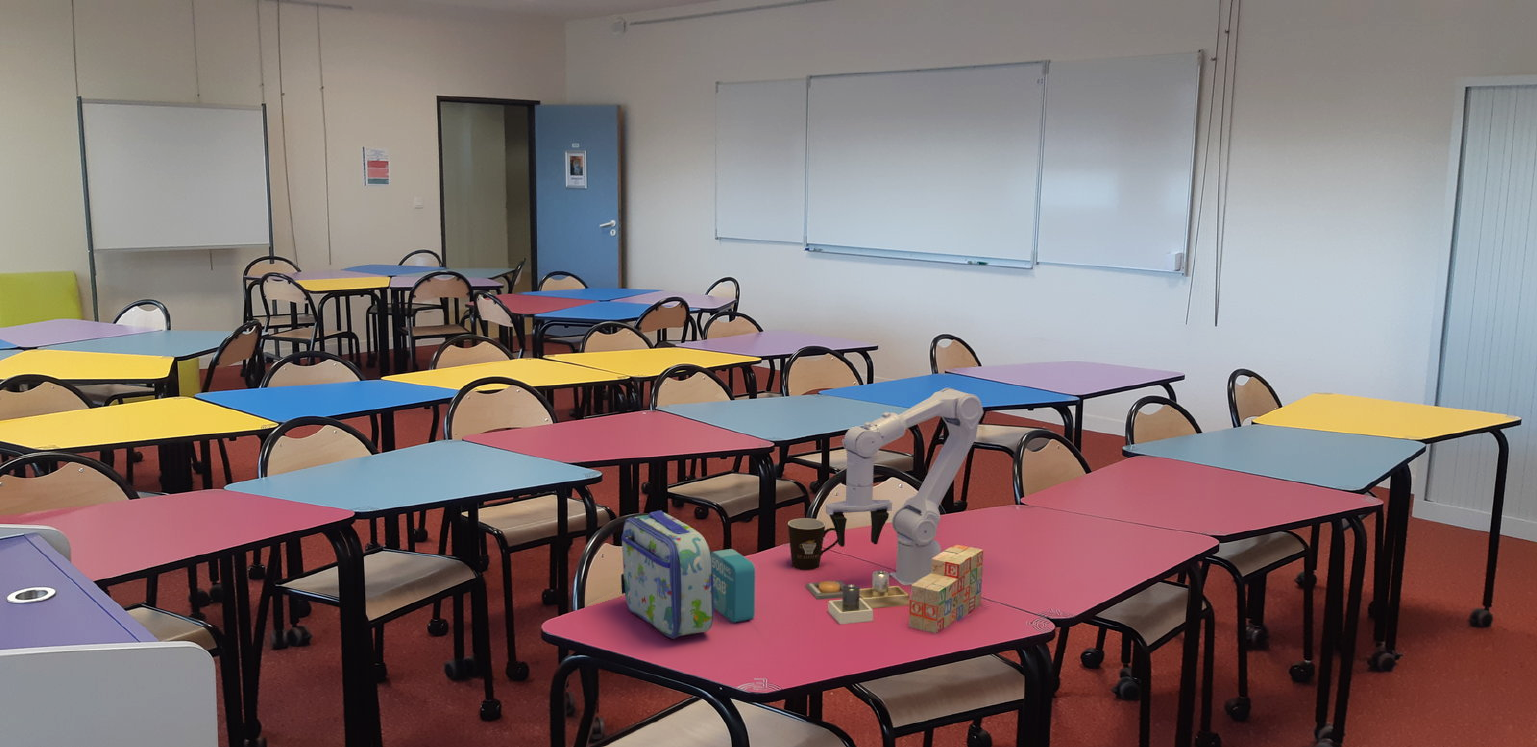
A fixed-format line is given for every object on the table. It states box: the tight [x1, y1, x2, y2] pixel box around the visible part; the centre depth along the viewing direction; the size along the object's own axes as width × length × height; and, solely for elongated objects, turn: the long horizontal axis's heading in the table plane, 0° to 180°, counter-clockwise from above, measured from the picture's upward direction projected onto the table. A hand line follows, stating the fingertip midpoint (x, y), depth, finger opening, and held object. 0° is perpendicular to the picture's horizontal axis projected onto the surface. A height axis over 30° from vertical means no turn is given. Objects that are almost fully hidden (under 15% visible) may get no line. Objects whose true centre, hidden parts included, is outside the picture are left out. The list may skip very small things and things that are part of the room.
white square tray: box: [827, 598, 874, 625], centre depth 221 cm, size 7×7×3 cm
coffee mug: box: [787, 517, 838, 571], centre depth 252 cm, size 12×9×10 cm
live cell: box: [871, 569, 890, 597], centre depth 229 cm, size 3×3×6 cm
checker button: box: [818, 580, 841, 593], centre depth 235 cm, size 4×4×2 cm
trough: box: [859, 585, 910, 609], centre depth 229 cm, size 10×6×3 cm, turn 106°
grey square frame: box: [805, 580, 846, 600], centre depth 235 cm, size 8×8×2 cm
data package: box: [710, 548, 756, 623], centre depth 222 cm, size 12×4×12 cm, turn 27°
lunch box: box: [620, 509, 715, 639], centre depth 217 cm, size 26×11×21 cm, turn 29°
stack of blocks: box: [908, 544, 984, 634], centre depth 222 cm, size 21×6×12 cm, turn 146°
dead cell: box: [841, 584, 861, 612], centre depth 221 cm, size 3×3×6 cm
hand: (857, 544), depth 237 cm, fingers open, 7 cm apart
